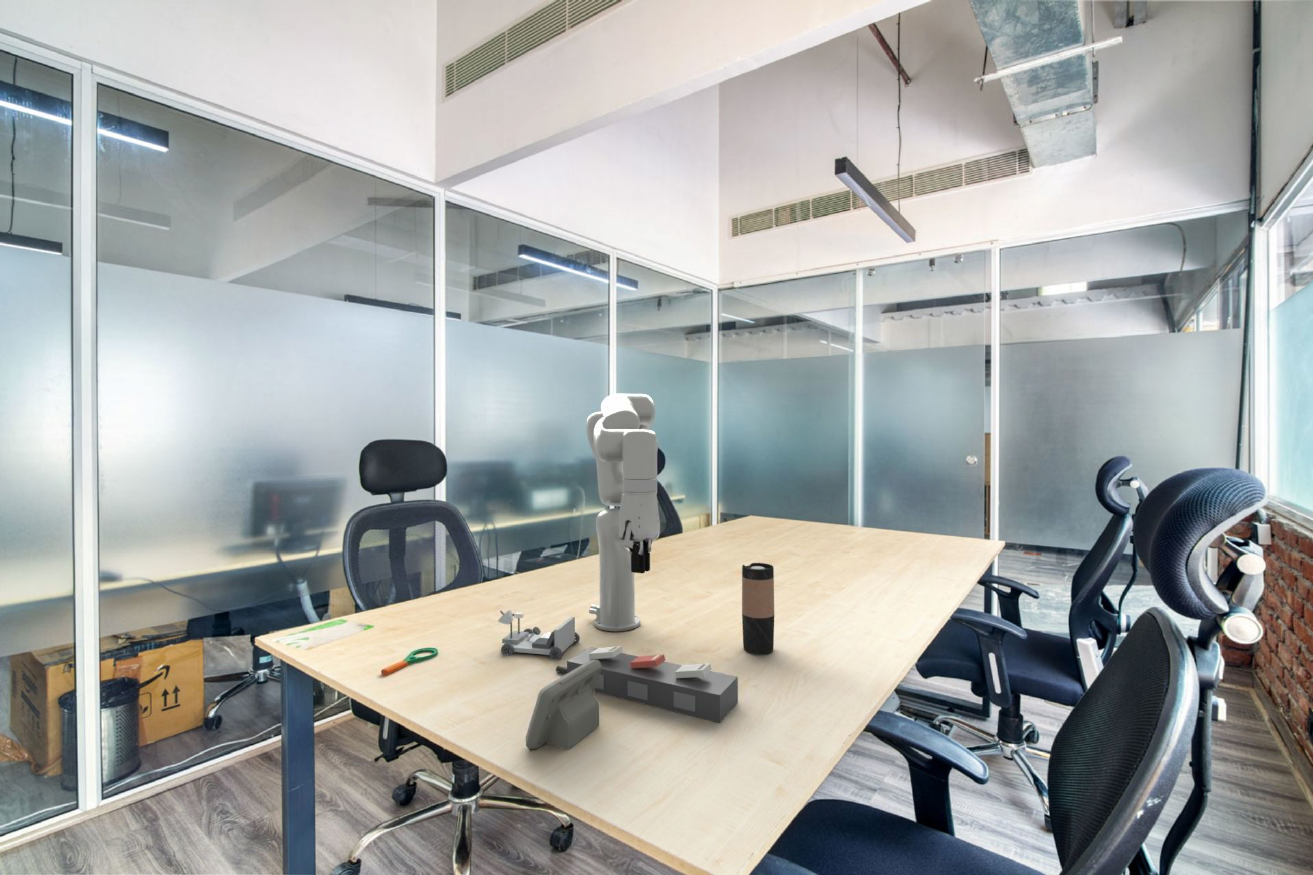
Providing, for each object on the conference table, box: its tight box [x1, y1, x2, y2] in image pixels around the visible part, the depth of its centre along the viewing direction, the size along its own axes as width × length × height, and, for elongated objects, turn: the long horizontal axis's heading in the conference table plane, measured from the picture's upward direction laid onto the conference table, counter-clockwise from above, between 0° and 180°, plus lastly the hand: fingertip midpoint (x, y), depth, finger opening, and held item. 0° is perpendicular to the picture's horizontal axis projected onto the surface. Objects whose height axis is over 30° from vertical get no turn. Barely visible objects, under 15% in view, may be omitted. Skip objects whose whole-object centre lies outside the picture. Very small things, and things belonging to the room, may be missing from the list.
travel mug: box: [741, 562, 775, 656], centre depth 139 cm, size 8×8×20 cm
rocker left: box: [589, 645, 624, 660], centre depth 121 cm, size 6×4×1 cm, turn 61°
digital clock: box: [525, 660, 601, 751], centre depth 101 cm, size 16×9×11 cm, turn 139°
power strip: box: [555, 646, 739, 724], centre depth 117 cm, size 40×9×5 cm, turn 61°
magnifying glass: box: [380, 647, 439, 677], centre depth 133 cm, size 15×6×2 cm, turn 160°
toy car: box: [497, 609, 581, 661], centre depth 141 cm, size 18×10×12 cm
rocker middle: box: [630, 653, 666, 669], centre depth 116 cm, size 6×4×1 cm, turn 62°
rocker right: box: [675, 663, 712, 678], centre depth 111 cm, size 6×4×1 cm, turn 61°
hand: (640, 570), depth 126 cm, fingers closed
